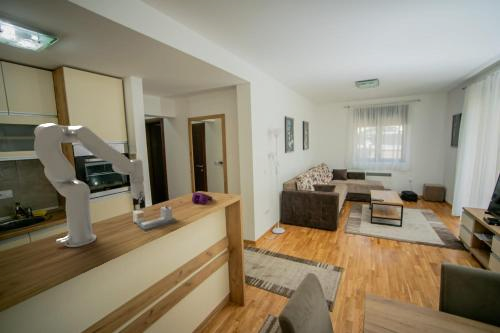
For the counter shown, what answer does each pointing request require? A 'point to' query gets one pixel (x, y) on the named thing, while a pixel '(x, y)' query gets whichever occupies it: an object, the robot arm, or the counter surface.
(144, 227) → the mounting board
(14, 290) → the counter surface
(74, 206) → the robot arm
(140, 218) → the rail module
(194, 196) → the purple rounded lump
